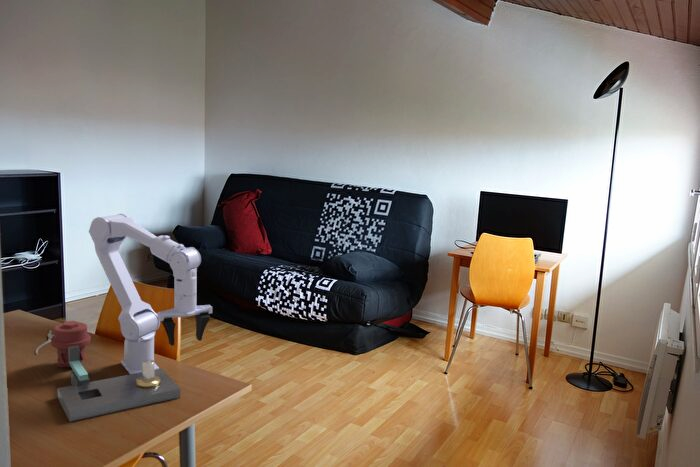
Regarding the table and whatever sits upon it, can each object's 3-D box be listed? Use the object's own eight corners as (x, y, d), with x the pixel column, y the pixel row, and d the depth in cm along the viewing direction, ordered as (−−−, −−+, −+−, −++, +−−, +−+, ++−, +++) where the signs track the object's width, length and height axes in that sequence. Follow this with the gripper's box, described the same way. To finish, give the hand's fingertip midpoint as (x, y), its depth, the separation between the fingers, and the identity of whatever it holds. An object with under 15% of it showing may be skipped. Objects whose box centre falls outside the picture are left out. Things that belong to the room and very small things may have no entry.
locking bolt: (68, 363, 158) (68, 346, 157) (78, 362, 160) (77, 345, 159) (78, 381, 149) (78, 362, 148) (89, 379, 150) (88, 360, 149)
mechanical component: (76, 355, 173) (98, 364, 168) (43, 366, 164) (66, 375, 159) (75, 314, 171) (98, 322, 166) (42, 323, 162) (65, 331, 157)
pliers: (36, 355, 170) (26, 333, 186) (37, 358, 170) (26, 336, 186) (73, 350, 175) (60, 328, 191) (73, 352, 176) (60, 331, 191)
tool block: (52, 386, 152) (51, 374, 152) (153, 367, 168) (153, 356, 167) (69, 422, 136) (69, 408, 135) (180, 397, 151) (180, 385, 151)
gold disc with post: (132, 388, 154) (132, 359, 152) (156, 384, 157) (156, 355, 156) (139, 398, 149) (139, 368, 148) (163, 393, 152) (163, 363, 151)
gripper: (163, 300, 151) (164, 351, 153) (217, 293, 160) (216, 341, 162) (154, 293, 157) (155, 342, 159) (206, 287, 165) (206, 334, 167)
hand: (185, 341), depth 161 cm, fingers open, 7 cm apart
